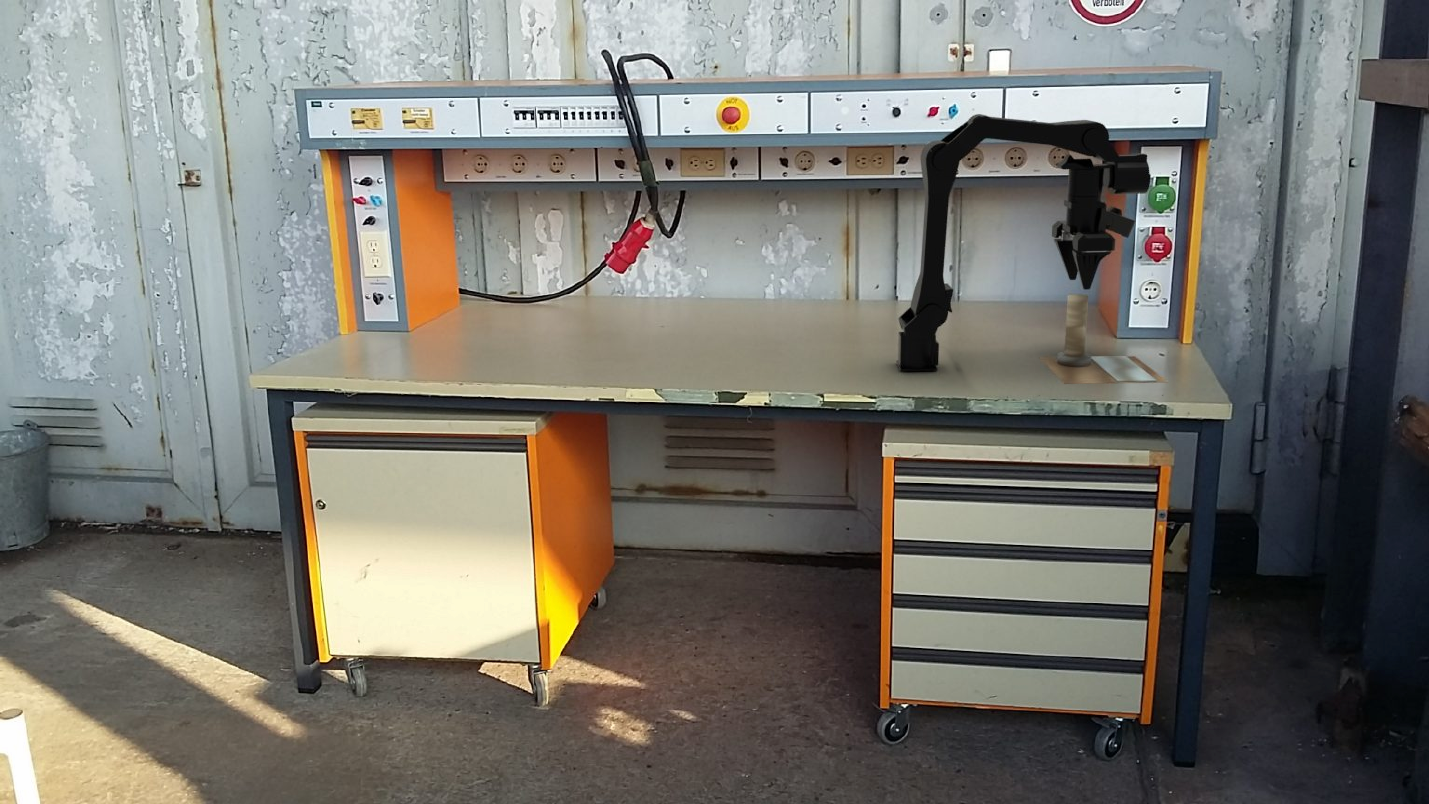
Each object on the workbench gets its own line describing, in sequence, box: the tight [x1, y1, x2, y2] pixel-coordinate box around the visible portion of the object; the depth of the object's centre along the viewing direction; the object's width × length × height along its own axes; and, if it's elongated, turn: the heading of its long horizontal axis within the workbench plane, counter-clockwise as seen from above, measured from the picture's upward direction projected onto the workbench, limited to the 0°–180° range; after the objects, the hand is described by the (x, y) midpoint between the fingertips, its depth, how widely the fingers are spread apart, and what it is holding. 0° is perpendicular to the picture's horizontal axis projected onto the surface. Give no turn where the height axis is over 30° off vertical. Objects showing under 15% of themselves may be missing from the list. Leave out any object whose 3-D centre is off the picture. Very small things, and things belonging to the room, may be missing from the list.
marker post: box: [1057, 293, 1092, 367], centre depth 213 cm, size 6×6×12 cm
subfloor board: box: [1039, 355, 1169, 385], centre depth 211 cm, size 17×18×1 cm
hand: (1079, 284), depth 215 cm, fingers open, 9 cm apart
